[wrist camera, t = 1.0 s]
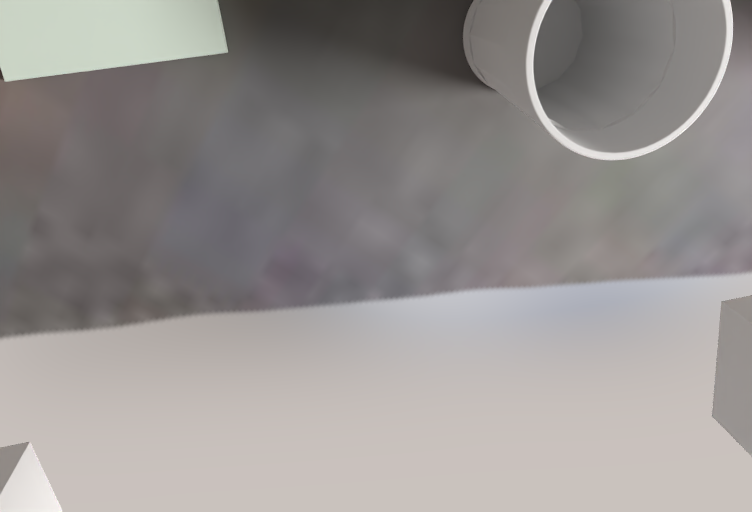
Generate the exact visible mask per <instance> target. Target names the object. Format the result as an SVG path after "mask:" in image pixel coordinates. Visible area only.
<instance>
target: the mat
mask: <svg viewBox="0 0 752 512" xmlns="http://www.w3.org/2000/svg"><path fill="white" fill-rule="evenodd" d="M220 53H228V48H227V43H226V38H225V33H224V28H223V23H222V18H221V13H220V8H219V3H218V0H0V68H1V71H2V74H3V77H4V80H5V82H6V81H14V80H21V79H29V78H37V77H44V76H52V75H60V74H67V73H75V72H83V71H90V70H98V69H106V68H113V67H121V66H129V65H136V64H144V63H152V62H159V61H167V60H174V59H182V58H190V57H197V56H205V55H213V54H220Z"/></svg>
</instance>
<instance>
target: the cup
mask: <svg viewBox="0 0 752 512" xmlns="http://www.w3.org/2000/svg"><path fill="white" fill-rule="evenodd" d="M732 38H733V16H732V8H731V3H730V0H473V2H472V4H471V6H470V8H469V10H468V13H467V16H466V19H465V23H464V29H463V46H464V51H465V55H466V58H467V61H468V63H469V65H470V67H471V69H472V71H473V72H474V73H475V75H476V76H477V77H478V78H479V79H480V80H481V81H482V82H483V83H485V84H486V85H487V86H489V87H491V88H493V89H495V90H496V91H497V92H499V93H500V94H501V95H502V96H504V97H505V98H506V99H507V100H509V101H510V102H511V103H512V104H514V105H515V106H516V107H517V108H519V109H520V110H521V111H522V112H524V113H525V114H526V115H527V116H529V117H530V118H531V119H532V120H533V121H534V122H536V123H537V124H538V125H539V126H540V127H541V128H543V129H544V130H545V131H546V132H547V133H548V134H549V135H551V136H552V137H553V138H554V139H555V140H556V141H558V142H559V143H560V144H561V145H563V146H564V147H566V148H568V149H569V150H571V151H573V152H575V153H577V154H580V155H583V156H586V157H589V158H594V159H600V160H623V159H629V158H634V157H638V156H641V155H644V154H647V153H649V152H652V151H654V150H656V149H658V148H660V147H662V146H664V145H665V144H667V143H669V142H670V141H672V140H673V139H675V138H676V137H677V136H679V135H680V134H681V133H683V132H684V131H685V130H686V129H687V128H688V127H689V126H690V125H691V124H692V123H693V122H694V121H695V120H696V119H697V118H698V117H699V116H700V114H701V113H702V112H703V111H704V109H705V108H706V107H707V105H708V104H709V102H710V101H711V99H712V98H713V96H714V94H715V92H716V91H717V89H718V87H719V85H720V83H721V80H722V78H723V75H724V73H725V70H726V67H727V64H728V60H729V56H730V52H731V46H732Z"/></svg>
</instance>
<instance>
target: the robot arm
mask: <svg viewBox="0 0 752 512" xmlns="http://www.w3.org/2000/svg"><path fill="white" fill-rule="evenodd" d="M712 416H713V418H714V419H715V420H716V421H717V422H718V423H719V424H720V425H721V426H722V427H723V428H724V429H725V430H726V431H727V432H728V433H729V434H730V435H731V436H732V437H733V438H734V439H735V440H736V441H737V442H738V443H739V444H740V445H741V446H742V447H743V448H744V449H745V450H746V451H747V452H748V453H749V454H750V455H751V456H752V295H751V296H746V297H742V298H736V299H731V300H727V301H722V302H721V314H720V325H719V339H718V350H717V362H716V374H715V386H714V399H713V411H712ZM0 512H63V511H62V509H61V506H60V504H59V502H58V501H57V498H56V496H55V494H54V492H53V490H52V488H51V485H50V483H49V481H48V479H47V477H46V475H45V473H44V471H43V469H42V466H41V464H40V462H39V460H38V458H37V456H36V454H35V451H34V449H33V447H32V445H31V443H30V442H26V443H22V444H16V445H11V446H7V447H1V448H0Z"/></svg>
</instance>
